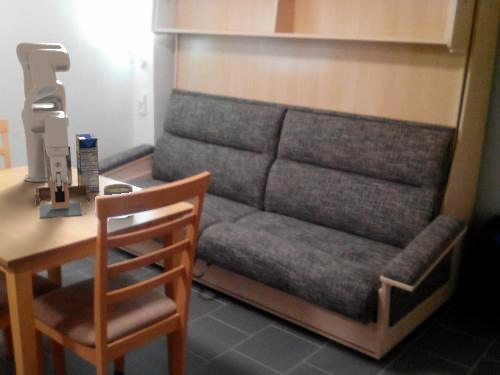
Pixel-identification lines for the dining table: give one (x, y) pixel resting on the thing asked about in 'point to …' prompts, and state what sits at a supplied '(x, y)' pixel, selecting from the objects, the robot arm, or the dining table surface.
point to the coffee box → (69, 170)
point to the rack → (73, 190)
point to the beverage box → (87, 161)
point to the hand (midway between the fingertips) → (60, 199)
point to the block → (52, 188)
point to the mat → (60, 211)
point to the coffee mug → (117, 189)
